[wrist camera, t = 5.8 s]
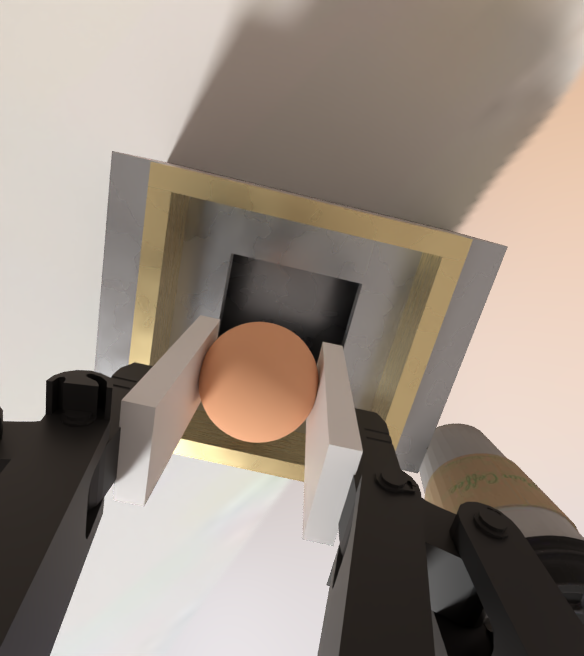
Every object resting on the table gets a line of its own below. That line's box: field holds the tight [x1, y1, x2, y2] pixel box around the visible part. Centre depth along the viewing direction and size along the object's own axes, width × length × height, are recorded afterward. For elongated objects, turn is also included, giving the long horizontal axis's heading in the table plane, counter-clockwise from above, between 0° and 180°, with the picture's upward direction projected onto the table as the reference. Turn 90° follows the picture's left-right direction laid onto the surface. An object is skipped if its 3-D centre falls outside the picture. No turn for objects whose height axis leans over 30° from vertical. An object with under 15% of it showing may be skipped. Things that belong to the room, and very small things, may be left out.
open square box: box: [95, 151, 507, 482], centre depth 25 cm, size 20×14×11 cm
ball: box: [199, 322, 319, 443], centre depth 14 cm, size 4×4×4 cm
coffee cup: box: [419, 424, 584, 625], centre depth 27 cm, size 9×9×15 cm
